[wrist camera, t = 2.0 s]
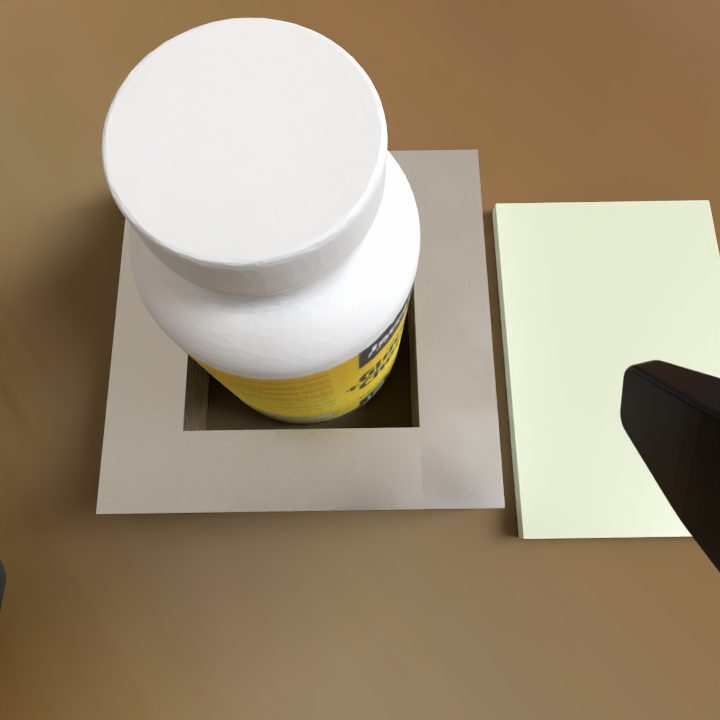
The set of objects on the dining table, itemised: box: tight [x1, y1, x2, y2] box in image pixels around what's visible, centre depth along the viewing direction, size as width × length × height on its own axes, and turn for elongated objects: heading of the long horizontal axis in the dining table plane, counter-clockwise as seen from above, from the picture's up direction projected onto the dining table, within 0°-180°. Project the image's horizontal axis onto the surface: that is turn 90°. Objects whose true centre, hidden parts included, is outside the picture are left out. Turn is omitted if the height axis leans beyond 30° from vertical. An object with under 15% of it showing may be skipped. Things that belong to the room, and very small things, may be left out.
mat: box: [492, 200, 720, 539], centre depth 20 cm, size 12×8×1 cm, turn 1°
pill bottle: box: [101, 18, 420, 425], centre depth 15 cm, size 6×6×12 cm
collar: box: [96, 150, 505, 514], centre depth 19 cm, size 12×12×2 cm
